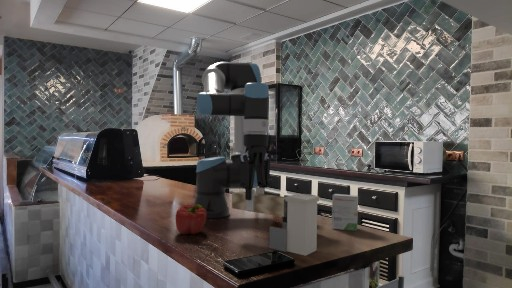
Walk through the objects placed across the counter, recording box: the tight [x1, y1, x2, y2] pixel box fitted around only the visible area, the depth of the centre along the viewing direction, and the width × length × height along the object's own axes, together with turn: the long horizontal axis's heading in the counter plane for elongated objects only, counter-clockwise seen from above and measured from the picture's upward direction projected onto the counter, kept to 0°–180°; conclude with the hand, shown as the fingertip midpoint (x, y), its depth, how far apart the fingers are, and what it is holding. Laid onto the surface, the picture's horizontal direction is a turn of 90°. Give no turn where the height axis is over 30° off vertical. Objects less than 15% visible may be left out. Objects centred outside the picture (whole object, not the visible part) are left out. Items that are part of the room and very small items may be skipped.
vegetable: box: [175, 204, 207, 235], centre depth 118 cm, size 11×10×10 cm
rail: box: [231, 190, 288, 218], centre depth 110 cm, size 21×4×5 cm, turn 51°
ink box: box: [331, 193, 359, 232], centre depth 127 cm, size 9×5×12 cm, turn 71°
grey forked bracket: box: [269, 193, 320, 256], centre depth 103 cm, size 12×8×15 cm, turn 51°
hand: (255, 209), depth 112 cm, fingers closed on rail, 4 cm apart
